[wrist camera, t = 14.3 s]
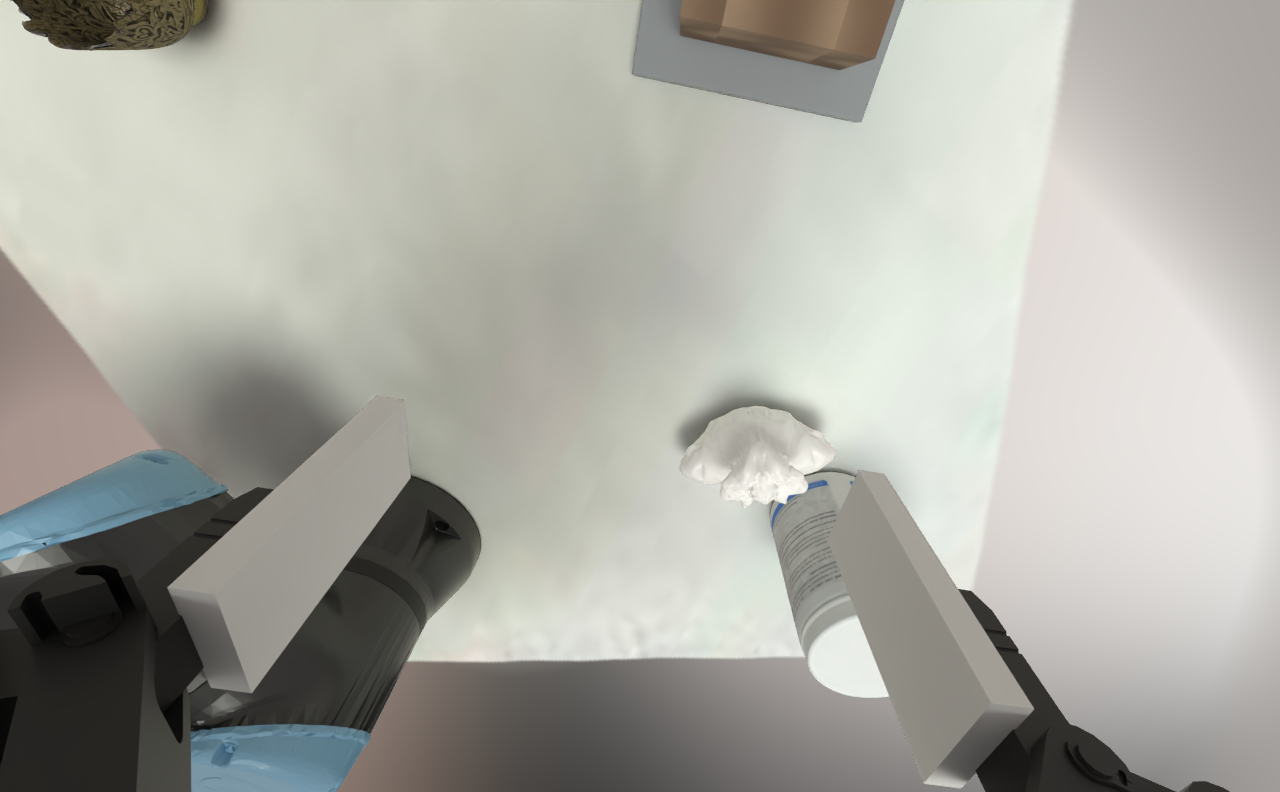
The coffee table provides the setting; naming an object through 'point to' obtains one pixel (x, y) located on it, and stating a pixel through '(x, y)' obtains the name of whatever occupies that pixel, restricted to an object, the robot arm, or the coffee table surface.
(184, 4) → the cup
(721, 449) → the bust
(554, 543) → the coffee table surface
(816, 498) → the supplement tub
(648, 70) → the post block
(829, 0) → the collar
